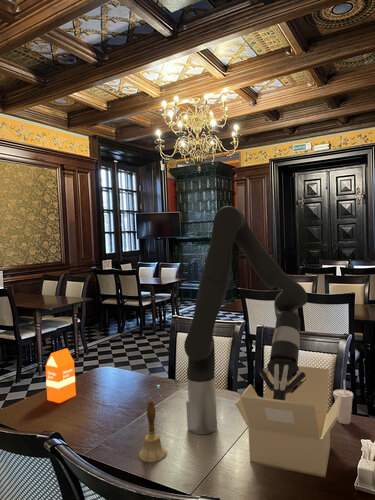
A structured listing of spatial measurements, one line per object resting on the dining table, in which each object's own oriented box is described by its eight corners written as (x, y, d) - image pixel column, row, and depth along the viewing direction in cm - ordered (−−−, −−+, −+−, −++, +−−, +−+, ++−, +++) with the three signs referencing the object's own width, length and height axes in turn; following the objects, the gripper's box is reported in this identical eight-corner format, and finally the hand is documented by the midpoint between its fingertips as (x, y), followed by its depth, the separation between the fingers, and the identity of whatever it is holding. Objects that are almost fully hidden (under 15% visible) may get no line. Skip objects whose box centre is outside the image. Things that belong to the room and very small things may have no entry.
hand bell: (139, 448, 117) (136, 397, 117) (166, 446, 118) (163, 395, 118) (138, 464, 109) (135, 408, 109) (167, 461, 110) (164, 406, 109)
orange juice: (47, 399, 159) (44, 352, 159) (63, 392, 167) (61, 347, 167) (59, 403, 155) (57, 354, 155) (76, 395, 163) (73, 348, 163)
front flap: (250, 426, 106) (250, 428, 106) (240, 394, 99) (240, 396, 99) (320, 437, 99) (320, 439, 98) (314, 404, 91) (314, 406, 91)
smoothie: (356, 426, 124) (354, 383, 124) (335, 425, 126) (334, 383, 125) (352, 417, 131) (350, 377, 130) (332, 416, 132) (330, 376, 132)
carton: (237, 459, 109) (233, 389, 108) (260, 419, 132) (257, 362, 132) (340, 480, 97) (337, 402, 97) (345, 432, 121) (342, 369, 120)
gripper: (259, 337, 109) (249, 397, 98) (307, 340, 103) (303, 403, 92) (265, 351, 114) (256, 409, 103) (311, 354, 108) (307, 416, 97)
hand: (278, 406), depth 97 cm, fingers closed
